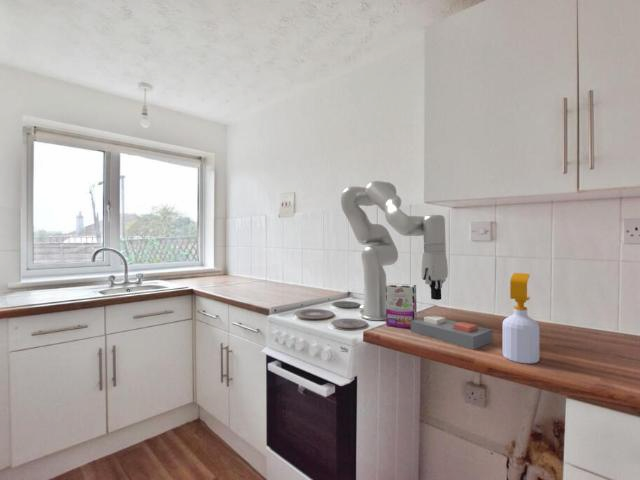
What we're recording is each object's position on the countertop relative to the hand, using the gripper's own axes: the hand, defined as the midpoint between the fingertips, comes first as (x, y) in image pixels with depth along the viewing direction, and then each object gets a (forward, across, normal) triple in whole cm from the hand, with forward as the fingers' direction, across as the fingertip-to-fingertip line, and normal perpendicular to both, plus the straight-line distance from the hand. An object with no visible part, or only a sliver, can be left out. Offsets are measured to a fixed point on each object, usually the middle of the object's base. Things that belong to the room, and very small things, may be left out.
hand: (436, 299), depth 120 cm
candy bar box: (+12, +3, -14) cm, 19 cm away
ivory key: (+9, 0, -1) cm, 9 cm away
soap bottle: (+13, +2, +29) cm, 32 cm away
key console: (+13, 0, +5) cm, 14 cm away
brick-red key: (+9, 0, +11) cm, 15 cm away
